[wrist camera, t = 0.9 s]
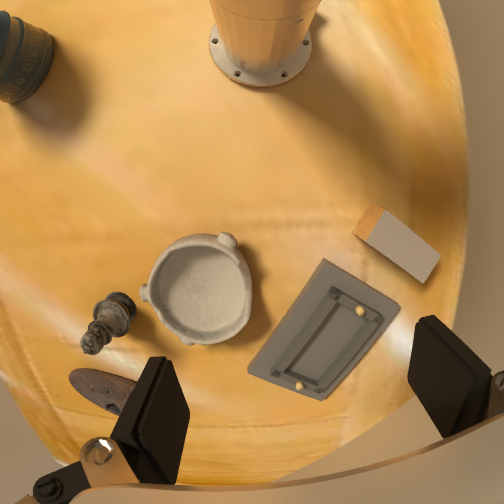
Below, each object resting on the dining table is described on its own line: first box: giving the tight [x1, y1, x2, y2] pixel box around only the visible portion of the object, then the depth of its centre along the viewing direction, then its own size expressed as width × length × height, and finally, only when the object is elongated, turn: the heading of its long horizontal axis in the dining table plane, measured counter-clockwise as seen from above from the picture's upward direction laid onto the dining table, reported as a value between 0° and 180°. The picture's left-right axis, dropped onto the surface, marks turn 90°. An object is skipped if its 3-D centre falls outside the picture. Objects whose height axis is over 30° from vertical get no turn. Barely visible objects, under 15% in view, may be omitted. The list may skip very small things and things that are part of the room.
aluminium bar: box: [352, 204, 441, 283], centre depth 35 cm, size 4×11×5 cm, turn 59°
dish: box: [139, 232, 253, 346], centre depth 37 cm, size 14×14×5 cm
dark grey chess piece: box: [80, 292, 136, 355], centre depth 35 cm, size 6×6×12 cm
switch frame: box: [248, 258, 400, 401], centre depth 40 cm, size 20×14×4 cm
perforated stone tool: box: [69, 368, 137, 416], centre depth 41 cm, size 15×5×7 cm, turn 73°
